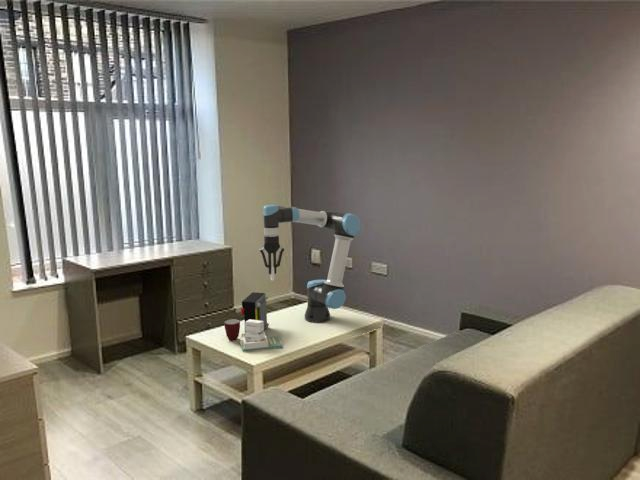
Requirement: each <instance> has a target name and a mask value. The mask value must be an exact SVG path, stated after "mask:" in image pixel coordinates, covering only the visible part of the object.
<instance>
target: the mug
mask: <svg viewBox="0 0 640 480" xmlns="http://www.w3.org/2000/svg"><path fill="white" fill-rule="evenodd" d="M224 330H225V334H226V338H227V339H228V340H229V341H230V342H235V341H237V340H238V339H239V335H240V330H241V320H239V319H236V318H232V319H227V320H225V321H224Z"/></svg>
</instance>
